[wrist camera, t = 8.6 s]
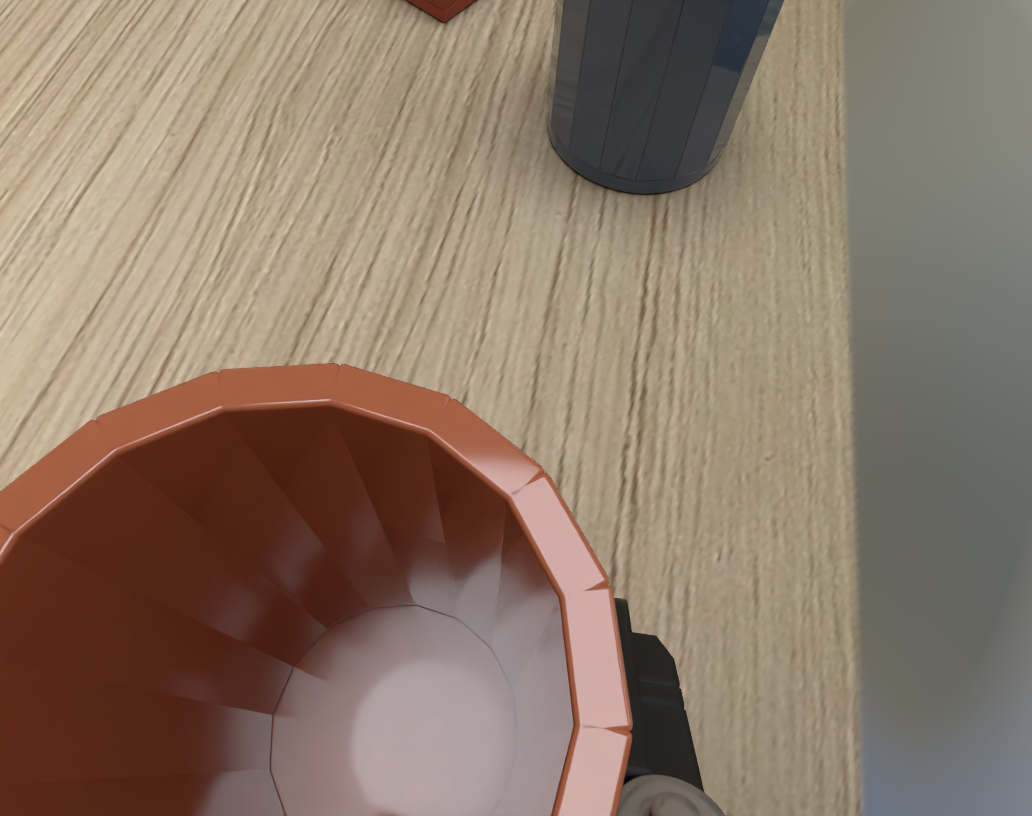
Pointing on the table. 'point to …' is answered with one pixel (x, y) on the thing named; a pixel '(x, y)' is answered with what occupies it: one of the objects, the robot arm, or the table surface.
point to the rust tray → (442, 7)
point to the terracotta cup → (303, 613)
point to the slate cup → (651, 86)
